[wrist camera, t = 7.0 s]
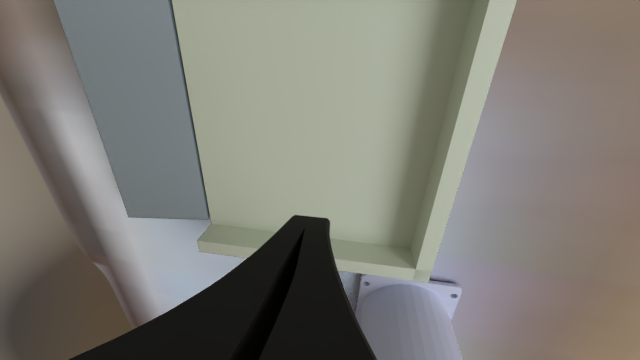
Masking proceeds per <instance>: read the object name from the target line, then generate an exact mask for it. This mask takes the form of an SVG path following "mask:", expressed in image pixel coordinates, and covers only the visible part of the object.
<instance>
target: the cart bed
mask: <svg viewBox="0 0 640 360" xmlns="http://www.w3.org/2000/svg"><path fill="white" fill-rule="evenodd" d="M516 1H517V0H172V5H173V10H174V16H175V22H176V27H177V33H178V39H179V44H180V50H181V55H182V61H183V67H184V72H185V78H186V84H187V89H188V95H189V101H190V106H191V112H192V117H193V123H194V129H195V134H196V140H197V146H198V151H199V157H200V162H201V168H202V174H203V179H204V185H205V191H206V196H207V202H208V208H209V213H210V219H211V225H210V226H209V227H208V229H207V230H206V231H205V232H204V233H203V234H202V236H201V237H200V238H199V239H198V240H197V243H198V247H199V252H206V253H213V254H220V255H228V256H235V257H243V258H248V257H249V256H251V255H252V254H253V253H254V252H255V251H257V250H258V249H259V248H260V247H261V246H262V245H263V244H264V243H265V242H267V241H268V240H269V239H270V238H271V237H272V236H273V235H274V234H275V233H276V232H277V231H278V230H279V229H280V228H281V227H282V226H283V225H284V224H285V223H286V222H287V221H288V220H289V219H290V218H291V217H292V216H294V215H301V216H310V217H320V218H328V220H329V221H330V241H331V247H332V251H333V255H334V259H335V263H336V267H337V270H338V271H346V272H353V273H360V274H368V275H375V276H382V277H390V278H397V279H404V280H412V281H419V282H427V283H428V282H429V279H430V276H431V273H432V269H433V266H434V263H435V260H436V257H437V253H438V250H439V247H440V244H441V241H442V237H443V234H444V231H445V228H446V225H447V222H448V218H449V215H450V212H451V209H452V206H453V202H454V199H455V196H456V193H457V190H458V186H459V183H460V180H461V177H462V174H463V170H464V167H465V164H466V161H467V158H468V154H469V151H470V148H471V145H472V142H473V138H474V135H475V132H476V129H477V126H478V122H479V119H480V116H481V113H482V110H483V106H484V103H485V100H486V97H487V94H488V90H489V87H490V84H491V81H492V78H493V75H494V71H495V68H496V65H497V62H498V59H499V55H500V52H501V49H502V46H503V43H504V39H505V36H506V33H507V30H508V27H509V23H510V20H511V17H512V14H513V11H514V7H515V4H516Z"/></svg>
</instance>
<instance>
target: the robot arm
mask: <svg viewBox="0 0 640 360" xmlns="http://www.w3.org/2000/svg"><path fill="white" fill-rule="evenodd" d="M461 293H462V289H461V287H460V285H458V284H453V283H446V282H438V281H431V280H429V282H428V283H427V282H419V281H412V280H404V279H397V278H390V277H382V276H375V275H368V274H362V275H361V280H360V287H359V294H358V300H357V307H356V314H354V312H353V310H352V308H351V305H350V303H349V301H348V298H347V296H346V293H345V291H344V288H343V285H342V282H341V279H340V276H339V273H338V270H337V267H336V263H335V259H334V255H333V251H332V247H331V241H330V221H329V220H328V218H320V217H310V216H301V215H294V216H292V217H291V218H290V219H289V220H288V221H287V222H286V223H285V224H284V225H283V226H282V227H281V228H280V229H279V230H278V231H277V232H276V233H275V234H274V235H273V236H272V237H271V238H270V239H269V240H268V241H267V242H265V243H264V244H263V245H262V246H261V247H260V248H259V249H258V250H257V251H255V252H254V253H253V254H252V255H251V256H249V257H248V258H247V259H246V260H244V261H243V262H242V263H241V264H240V265H238V266H237V267H236V268H235V269H233V270H232V271H231V272H229V273H228V274H226V275H225V276H224V277H222V278H221V279H219V280H218V281H217V282H215V283H214V284H212V285H211V286H209V287H208V288H206V289H205V290H203V291H201V292H200V293H198V294H196V295H195V296H193V297H191V298H190V299H188V300H186V301H185V302H183V303H181V304H180V305H178V306H176V307H175V308H173V309H171V310H170V311H168V312H166V313H164V314H162V315H160V316H159V317H157V318H155V319H153V320H151V321H149V322H147V323H145V324H143V325H141V326H139V327H137V328H135V329H133V330H132V331H130V332H128V333H126V334H124V335H121V336H119V337H117V338H115V339H113V340H111V341H109V342H107V343H104V344H102V345H100V346H98V347H96V348H93V349H91V350H89V351H87V352H84V353H82V354H80V355H78V356H76V357H73V358H71V359H69V360H463V358H462V355H461V352H460V349H459V346H458V343H457V340H456V337H455V334H454V331H453V327H452V324H451V318H452V316H453V313H454V311H455V308H456V306H457V303H458V301H459V298H460V296H461Z"/></svg>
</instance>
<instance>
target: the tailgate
mask: <svg viewBox="0 0 640 360" xmlns="http://www.w3.org/2000/svg"><path fill="white" fill-rule="evenodd" d="M54 3H55V6H56V9H57V11H58V14H59V17H60V20H61V23H62V26H63V29H64V32H65V35H66V37H67V40H68V43H69V46H70V49H71V52H72V55H73V58H74V61H75V64H76V66H77V69H78V72H79V75H80V78H81V81H82V84H83V87H84V90H85V93H86V95H87V98H88V101H89V104H90V107H91V110H92V113H93V116H94V119H95V121H96V124H97V127H98V130H99V133H100V136H101V139H102V142H103V145H104V148H105V150H106V153H107V156H108V159H109V162H110V165H111V168H112V171H113V174H114V176H115V179H116V182H117V185H118V188H119V191H120V194H121V197H122V200H123V203H124V205H125V208H126V211H127V214H128V217H137V218H169V219H202V220H208V219H209V217H210V213H209V208H208V202H207V196H206V191H205V185H204V179H203V174H202V168H201V162H200V157H199V151H198V146H197V140H196V134H195V129H194V123H193V117H192V112H191V106H190V101H189V95H188V89H187V84H186V78H185V72H184V67H183V61H182V55H181V50H180V44H179V39H178V33H177V27H176V22H175V16H174V10H173V5H172V0H54Z"/></svg>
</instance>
